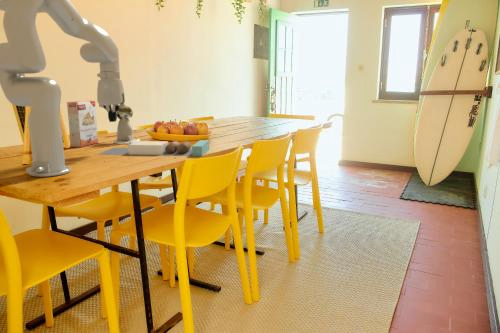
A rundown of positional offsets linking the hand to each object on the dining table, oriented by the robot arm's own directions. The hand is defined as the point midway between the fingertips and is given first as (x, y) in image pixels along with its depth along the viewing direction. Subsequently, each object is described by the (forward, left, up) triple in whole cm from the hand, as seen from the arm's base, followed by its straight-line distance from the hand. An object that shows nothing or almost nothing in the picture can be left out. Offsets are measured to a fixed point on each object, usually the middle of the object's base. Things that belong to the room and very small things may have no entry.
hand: (112, 121), depth 162 cm
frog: (+27, +5, -14) cm, 30 cm away
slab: (+1, -15, -13) cm, 20 cm away
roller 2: (+3, -31, -11) cm, 33 cm away
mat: (+3, -17, -14) cm, 22 cm away
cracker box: (+20, +23, -14) cm, 34 cm away
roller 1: (+3, -24, -13) cm, 27 cm away
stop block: (+3, -37, -13) cm, 39 cm away
